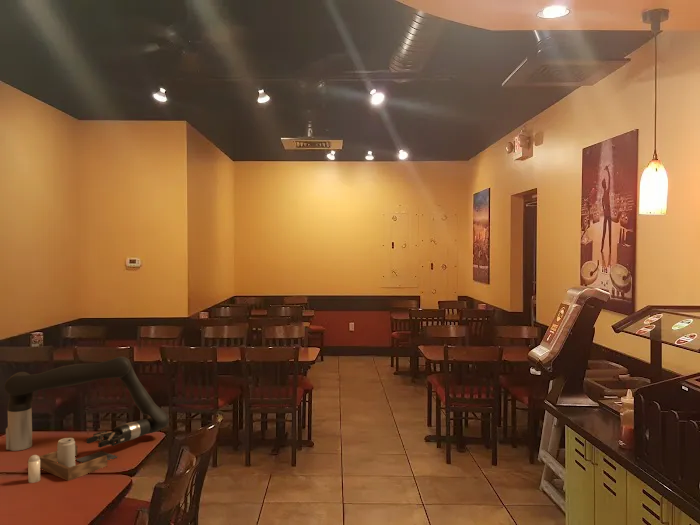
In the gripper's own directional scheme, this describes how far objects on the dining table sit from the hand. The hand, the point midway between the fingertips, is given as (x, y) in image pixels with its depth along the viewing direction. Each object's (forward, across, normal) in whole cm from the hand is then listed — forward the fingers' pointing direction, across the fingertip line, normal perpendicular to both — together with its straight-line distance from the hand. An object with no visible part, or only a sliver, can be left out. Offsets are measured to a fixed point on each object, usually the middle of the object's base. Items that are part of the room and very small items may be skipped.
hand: (92, 443), depth 232 cm
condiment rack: (+9, 0, +7) cm, 12 cm away
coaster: (-2, 0, +7) cm, 7 cm away
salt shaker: (+24, 0, +7) cm, 25 cm away
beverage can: (+11, 0, +8) cm, 14 cm away
